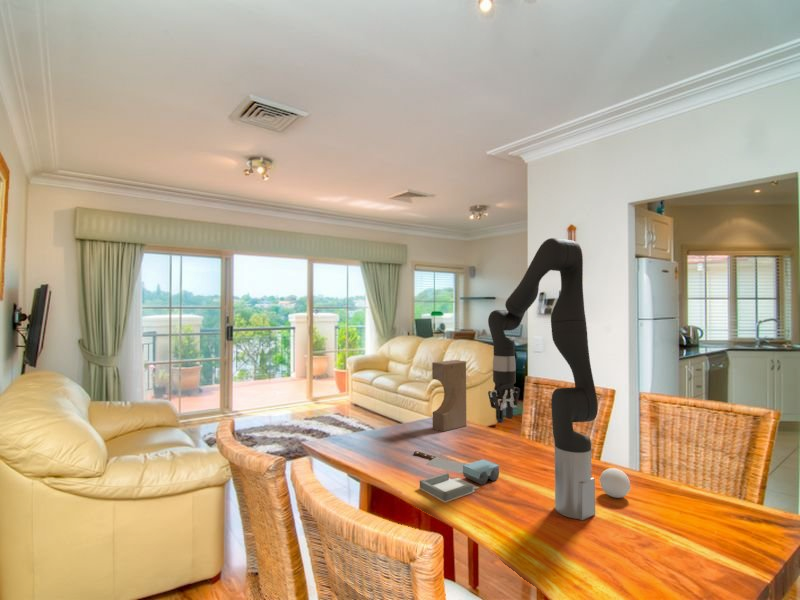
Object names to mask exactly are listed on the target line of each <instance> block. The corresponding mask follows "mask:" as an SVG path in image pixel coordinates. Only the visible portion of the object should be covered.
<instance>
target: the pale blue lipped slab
mask: <svg viewBox="0 0 800 600" xmlns="http://www.w3.org/2000/svg"><path fill="white" fill-rule="evenodd" d="M462 474H463V475H462V476H463V477H464V478H466V479H468V480H470V481H473V482H474V483H475V484H476V483H477V484H479V485H481V486H483V484H484V485H486V484H487V482H488V480H490V481H492V482H495V481H497V480H498V479H499V476H500V465H499V464H497V463H495V462H492V461H490V460H487V459H483V458H482V459H480V460H476V461H472V462H469V463H468V464H466V465H463V473H462Z"/></svg>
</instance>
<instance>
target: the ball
mask: <svg viewBox="0 0 800 600" xmlns="http://www.w3.org/2000/svg"><path fill="white" fill-rule="evenodd" d="M599 483H600V487H601V490H603V491H604V493H605V494H606V495H608V496H609V497H612V498H616V499H620V498H623V497H626V496H627V494H629V492H630V489H631V481H630V479H629V477H628V475H627V474H626V473H625V472H624V471H622V470H621V469H619V468H615V467H611V468H610V467H609V468H607V469H605V470H603V471H602V472H601V474H600V476H599Z"/></svg>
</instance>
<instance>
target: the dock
mask: <svg viewBox="0 0 800 600" xmlns="http://www.w3.org/2000/svg"><path fill="white" fill-rule="evenodd" d="M419 489H420V490H421V491H423V492H425V493H427V494H428V495H430V496H432V497H434V498H436V499H438V500H439V501H441V502H443V503H448V502H451V501H453V500H456V499H459V498H462V497H465V496H468V495H470V494H473V493H475V492H476V490H477V489H480V487H479V486H477V485H475V484H472V483H470V482H468V481H467V480H464V479H462V478H460V477H457V478H450V473H449V472H444V473H440V474H438V475H435V476H432V477H431V476H430V477H427V478H425V479H421V480H419Z"/></svg>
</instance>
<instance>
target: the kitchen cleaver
mask: <svg viewBox="0 0 800 600" xmlns="http://www.w3.org/2000/svg"><path fill="white" fill-rule="evenodd" d="M413 456H415V457H420V458H424V459H428V460H429V461H428V462H427V463H425V465H426V466H430V467H433V468H437V469H440V470H445V471H449V472H453V473H457V472H458V474H463V465H466V464H469V463H466V462H460V461H453V460H449V459H446V458H441V457H439V456H434V455H431V454H428V453H423V452H421V451H418V450H415V451H413Z"/></svg>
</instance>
